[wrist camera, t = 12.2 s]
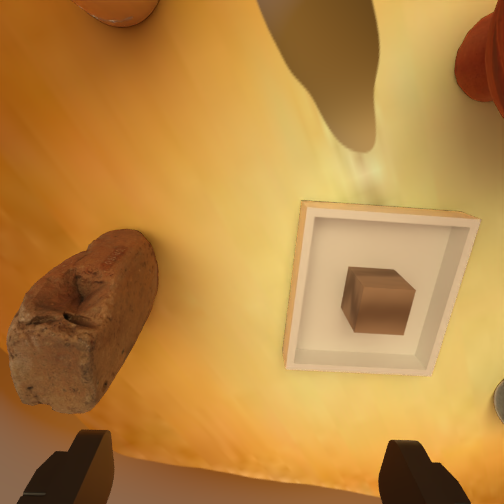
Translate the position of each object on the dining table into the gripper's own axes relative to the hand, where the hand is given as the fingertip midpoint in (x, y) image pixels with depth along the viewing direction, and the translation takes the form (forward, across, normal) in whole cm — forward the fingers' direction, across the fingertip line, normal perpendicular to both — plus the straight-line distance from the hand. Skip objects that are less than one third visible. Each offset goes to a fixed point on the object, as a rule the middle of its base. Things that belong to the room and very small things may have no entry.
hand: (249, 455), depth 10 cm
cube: (+33, -17, +10) cm, 38 cm away
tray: (+33, -17, +10) cm, 39 cm away
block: (+34, +14, +9) cm, 38 cm away
